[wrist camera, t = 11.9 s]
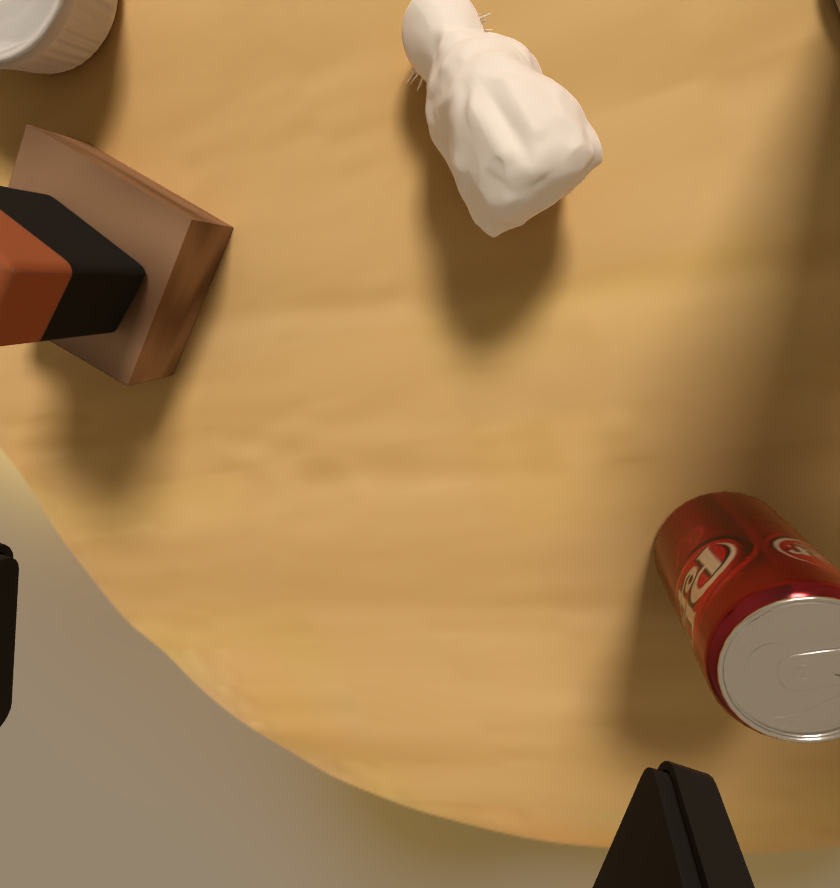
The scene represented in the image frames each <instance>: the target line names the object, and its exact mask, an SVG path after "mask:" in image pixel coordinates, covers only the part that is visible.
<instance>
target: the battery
mask: <svg viewBox="0 0 840 888" xmlns="http://www.w3.org/2000/svg"><path fill="white" fill-rule="evenodd" d="M144 277H145V269H144V268H143V267H142V265H140V264H139V263H138V262H137V261H136V260H134V259H133V258H132V257H130V256H129V255H128V254H127V253H125V252H124V251H123V250H121V249H120V248H119V247H117V246H116V245H115V244H114V243H112V242H111V241H110V240H108V239H107V238H106V237H104V236H103V235H102V234H101V233H99V232H98V231H97V230H95V229H94V228H93V227H91V226H90V225H89V224H88V223H86V222H85V221H84V220H82V219H81V218H80V217H79V216H77V215H76V214H75V213H73V212H72V211H71V210H69V209H68V208H67V207H66V206H64V205H63V204H62V203H60V202H59V201H58V200H56V199H55V198H54V197H52V196H50V195H47V194H42V193H36V192H31V191H25V190H19V189H14V188H8V187H3V186H0V346H6V345H14V344H23V343H31V342H39V341H47V340H56V339H64V338H72V337H80V336H89V335H97V334H105V333H112V332H115V331H116V329H117V328H118V326H119V324H120V322H121V320H122V318H123V316H124V315H125V313H126V311H127V309H128V307H129V305H130V303H131V301H132V299H133V298H134V296H135V294H136V292H137V290H138V288H139V286H140V284H141V283H142V281H143V279H144Z"/></svg>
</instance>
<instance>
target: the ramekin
mask: <svg viewBox="0 0 840 888" xmlns="http://www.w3.org/2000/svg"><path fill="white" fill-rule="evenodd" d="M117 4H118V0H0V69H12V70H18V71H25V72H31V73H37V74H44V73H45V74H54V73H61V72H65V71H67V70H72V69H74V68H75V67H77V66H79V65H81V64H83V63H84V62H85V61H86V60H87V59H89V58H90V57H91V56H92V55H93V54H94V53H95V52H96V51H97V50H98V48H99V47H100V46H101V44H102V43H103V41H104V40H105V38H106V37H107V35H108V33H109V31H110V29H111V27H112V24H113V21H114V18H115V14H116V10H117Z"/></svg>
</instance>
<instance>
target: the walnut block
mask: <svg viewBox="0 0 840 888" xmlns="http://www.w3.org/2000/svg"><path fill="white" fill-rule="evenodd" d="M8 188H14V189H19V190H25V191H31V192H36V193H42V194H47V195H50V196H52V197H54V198H55V199H56V200H58V201H59V202H60V203H62V204H63V205H64V206H66V207H67V208H68V209H69V210H71V211H72V212H73V213H75V214H76V215H77V216H79V217H80V218H81V219H82V220H84V221H85V222H86V223H88V224H89V225H90V226H91V227H93V228H94V229H95V230H97V231H98V232H99V233H101V234H102V235H103V236H104V237H106V238H107V239H108V240H110V241H111V242H112V243H114V244H115V245H116V246H117V247H119V248H120V249H121V250H123V251H124V252H125V253H127V254H128V255H129V256H130V257H132V258H133V259H134V260H136V261H137V262H138V263H139V264H140V265H142V267H143V268H144V269H145V277H144V279H143V281H142V283H141V284H140V286H139V288H138V290H137V292H136V294H135V296H134V298H133V299H132V301H131V303H130V305H129V307H128V309H127V311H126V313H125V315H124V316H123V318H122V320H121V322H120V324H119V326H118V328H117V329H116V331H115V332H112V333H105V334H97V335H89V336H80V337H72V338H64V339H56V340H50V341H52V342H53V343H55V344H57V345H58V346H60V347H62V348H63V349H65V350H67V351H69V352H70V353H72V354H74V355H75V356H77V357H79V358H80V359H82V360H84V361H85V362H87V363H89V364H91V365H92V366H94V367H96V368H97V369H99V370H101V371H102V372H104V373H106V374H107V375H109V376H111V377H113V378H114V379H116V380H118V381H119V382H121V383H123V384H124V385H126V386H130V385H134V384H138V383H142V382H146V381H150V380H154V379H158V378H162V377H166V376H170V375H173V374H174V371H175V369H176V367H177V364H178V362H179V359H180V357H181V354H182V352H183V350H184V347H185V345H186V342H187V340H188V337H189V335H190V332H191V330H192V328H193V325H194V323H195V320H196V318H197V315H198V313H199V310H200V308H201V306H202V303H203V301H204V298H205V296H206V293H207V291H208V289H209V286H210V284H211V281H212V279H213V276H214V274H215V271H216V269H217V267H218V264H219V262H220V259H221V257H222V254H223V252H224V249H225V247H226V245H227V242H228V240H229V237H230V235H231V232H232V230H233V227H232V226H230V225H228V224H227V223H225V222H223V221H221V220H220V219H218V218H216V217H214V216H213V215H211V214H209V213H208V212H206V211H204V210H202V209H201V208H199V207H197V206H196V205H194V204H192V203H190V202H189V201H187V200H185V199H183V198H182V197H180V196H178V195H177V194H175V193H173V192H171V191H170V190H168V189H166V188H164V187H163V186H161V185H159V184H158V183H156V182H154V181H152V180H151V179H149V178H147V177H146V176H144V175H142V174H140V173H139V172H137V171H135V170H133V169H132V168H130V167H128V166H127V165H125V164H123V163H121V162H120V161H118V160H116V159H114V158H113V157H111V156H109V155H108V154H106V153H104V152H102V151H101V150H99V149H97V148H95V147H94V146H92V145H90V144H89V143H86V142H83V141H80V140H76V139H73V138H70V137H67V136H64V135H61V134H58V133H54V132H51V131H48V130H45V129H42V128H39V127H36V126H33V125H29V124H26V127H25V131H24V134H23V138H22V141H21V145H20V148H19V152H18V155H17V159H16V162H15V166H14V169H13V173H12V176H11V180H10V183H9V187H8Z"/></svg>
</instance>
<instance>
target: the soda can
mask: <svg viewBox="0 0 840 888" xmlns="http://www.w3.org/2000/svg"><path fill="white" fill-rule="evenodd" d="M655 561H656V566H657V569H658V572H659V575H660V577H661V579H662V582H663V584H664V586H665V588H666V591H667V593H668V595H669V598H670V600H671V602H672V604H673V607H674V609H675V611H676V613H677V616H678V618H679V620H680V622H681V625H682V627H683V629H684V631H685V634H686V636H687V638H688V640H689V643H690V645H691V647H692V649H693V652H694V654H695V656H696V658H697V661H698V663H699V665H700V667H701V670H702V672H703V674H704V676H705V679H706V681H707V683H708V685H709V688H710V689H711V691H712V693H713V695H714V696H715V698H716V700H717V702H718V703H719V704H720V705H721V706H722V707H723V708H724V709H725V711H726V712H727V713H728V714H730V715H731V716H732V717H734V718H735V719H736V720H738V721H739V722H740V723H741V724H743V725H744V726H746V727H748V728H750V729H752V730H754V731H756V732H758V733H760V734H763V735H767V736H770V737H773V738H776V739H781V740H786V741H793V742H822V741H829V740H835V739H838V738H840V570H839V569H838V568H837V567H835V566H834V565H833V564H832V563H831V562H830V561H829V560H828V559H827V558H826V557H825V556H824V555H822V554H821V553H820V552H819V551H818V550H817V549H816V548H815V547H814V546H813V545H812V544H811V543H810V542H808V541H807V540H806V539H805V538H804V537H803V536H802V535H801V534H800V533H799V532H798V531H797V530H795V529H794V528H793V527H792V526H791V525H790V524H789V523H788V522H787V521H786V520H785V519H784V518H783V517H781V516H780V515H779V514H778V513H777V512H776V511H775V510H774V509H772V508H771V507H770V506H768V505H767V504H766V503H764V502H762V501H760V500H758V499H756V498H754V497H752V496H748V495H745V494H741V493H734V492H716V493H709V494H706V495H702V496H698V497H696V498H694V499H692V500H690V501H687V502H686V503H684V504H683V505H681V506H680V507H679V508H677V509H676V510H675V511H674V512H673V513H672V514H671V515H670V516H669V517H668V518H667V519H666V521H665V522H664V524H663V526H662V527H661V529H660V531H659V534H658V536H657V539H656V545H655Z"/></svg>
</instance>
